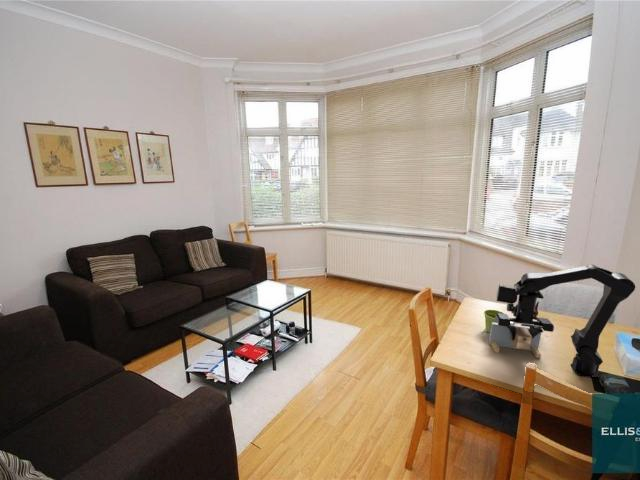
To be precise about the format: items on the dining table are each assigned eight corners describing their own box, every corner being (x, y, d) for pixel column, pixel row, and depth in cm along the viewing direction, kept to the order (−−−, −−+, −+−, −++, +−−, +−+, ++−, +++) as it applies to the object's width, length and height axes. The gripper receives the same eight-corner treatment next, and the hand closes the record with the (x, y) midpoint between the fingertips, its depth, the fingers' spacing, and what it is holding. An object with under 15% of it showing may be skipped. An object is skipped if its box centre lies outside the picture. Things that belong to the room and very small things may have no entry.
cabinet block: (523, 340, 125) (526, 327, 124) (530, 351, 119) (532, 337, 117) (510, 338, 127) (512, 325, 125) (515, 349, 120) (518, 335, 118)
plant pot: (477, 328, 144) (479, 312, 142) (489, 323, 148) (492, 307, 146) (495, 338, 136) (498, 321, 134) (508, 333, 140) (511, 316, 138)
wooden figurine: (537, 330, 142) (543, 300, 138) (535, 335, 138) (541, 305, 134) (520, 325, 146) (525, 296, 143) (518, 330, 142) (523, 300, 138)
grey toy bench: (536, 349, 128) (540, 328, 126) (542, 358, 122) (546, 336, 120) (488, 342, 133) (491, 322, 130) (492, 351, 127) (495, 330, 124)
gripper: (545, 299, 123) (539, 333, 127) (494, 294, 128) (489, 327, 132) (557, 312, 113) (550, 349, 117) (501, 306, 118) (496, 341, 122)
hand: (520, 341), depth 122 cm, fingers closed on cabinet block, 5 cm apart
